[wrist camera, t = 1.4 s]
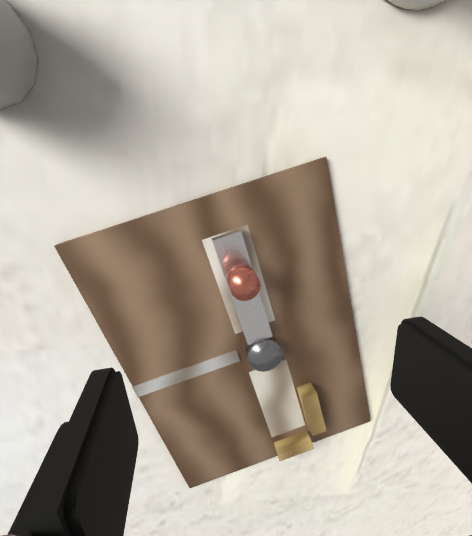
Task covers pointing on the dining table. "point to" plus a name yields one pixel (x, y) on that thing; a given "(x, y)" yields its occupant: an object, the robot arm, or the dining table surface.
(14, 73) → the cup
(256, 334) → the arm
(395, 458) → the dining table surface
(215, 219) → the board
